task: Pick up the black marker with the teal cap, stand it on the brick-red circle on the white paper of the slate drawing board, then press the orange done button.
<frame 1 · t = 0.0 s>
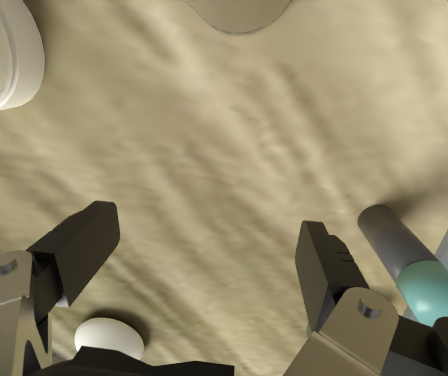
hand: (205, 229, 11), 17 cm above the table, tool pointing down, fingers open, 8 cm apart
marker: (375, 219, 29), on the table
flower in vase: (112, 329, 43), on the table
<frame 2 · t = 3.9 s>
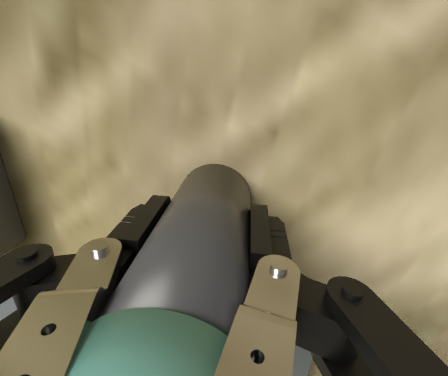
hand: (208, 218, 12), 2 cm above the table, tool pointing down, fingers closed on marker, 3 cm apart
drawing board: (158, 370, 21), on the table
marker: (215, 197, 14), on the table, touching gripper
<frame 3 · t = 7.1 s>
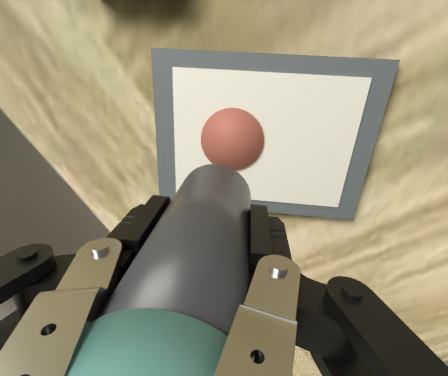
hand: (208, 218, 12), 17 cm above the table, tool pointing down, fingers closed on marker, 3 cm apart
drawing board: (261, 139, 27), on the table
marker: (215, 197, 14), point 15 cm above the table, touching gripper
when the fingers open (5 cm above the table, at t = 10.5 s): marker stays where it is, resting on drawing board.
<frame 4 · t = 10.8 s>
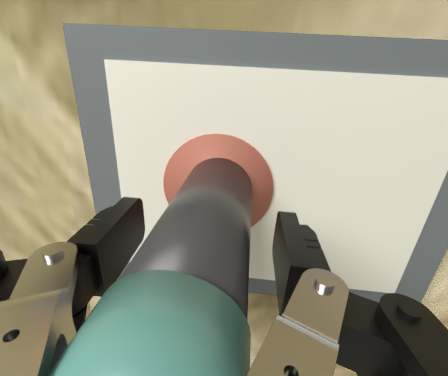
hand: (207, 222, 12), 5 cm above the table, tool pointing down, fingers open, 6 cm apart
drawing board: (267, 184, 16), on the table
marker: (219, 189, 15), point 1 cm above the table, touching drawing board
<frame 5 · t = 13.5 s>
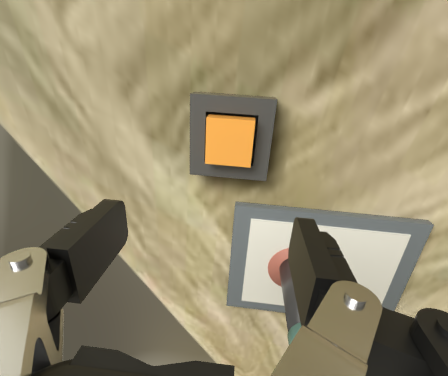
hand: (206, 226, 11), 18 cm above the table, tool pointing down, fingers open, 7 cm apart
drawing board: (315, 264, 33), on the table
button housing: (232, 134, 27), on the table
marker: (294, 269, 32), point 1 cm above the table, touching drawing board
done button: (229, 140, 25), point 3 cm above the table, slide at 0.0 cm
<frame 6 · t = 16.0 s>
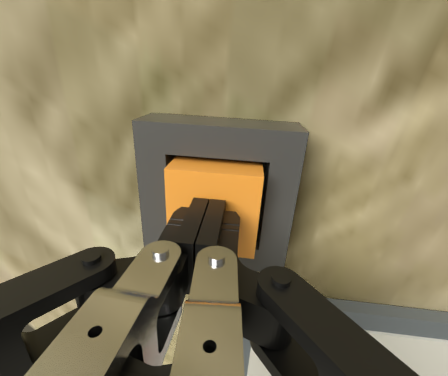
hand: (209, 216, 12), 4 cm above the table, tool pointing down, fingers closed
drawing board: (356, 375, 21), on the table
button housing: (220, 185, 15), on the table
done button: (214, 206, 13), point 3 cm above the table, slide at 0.2 cm, touching gripper
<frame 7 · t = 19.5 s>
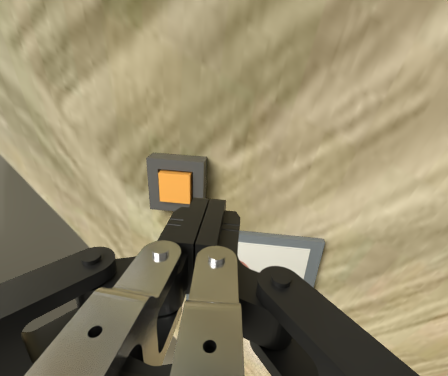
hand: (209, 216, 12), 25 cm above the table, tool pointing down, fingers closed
drawing board: (249, 270, 45), on the table
button housing: (180, 180, 39), on the table
done button: (176, 186, 37), point 2 cm above the table, slide at 0.7 cm
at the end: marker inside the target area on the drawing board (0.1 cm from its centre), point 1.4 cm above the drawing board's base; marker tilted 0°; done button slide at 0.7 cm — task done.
